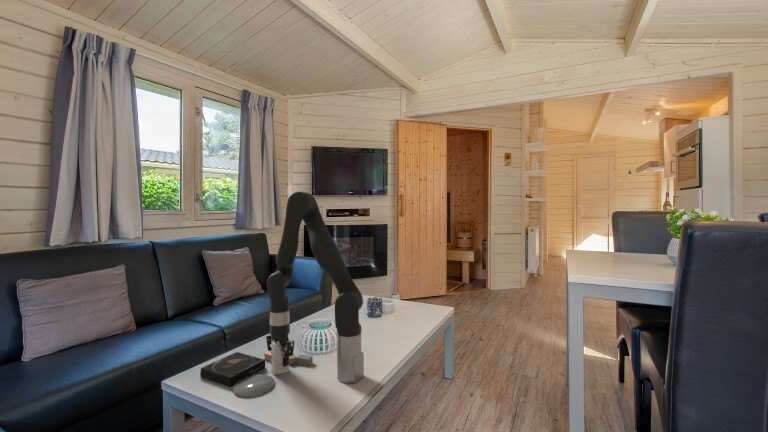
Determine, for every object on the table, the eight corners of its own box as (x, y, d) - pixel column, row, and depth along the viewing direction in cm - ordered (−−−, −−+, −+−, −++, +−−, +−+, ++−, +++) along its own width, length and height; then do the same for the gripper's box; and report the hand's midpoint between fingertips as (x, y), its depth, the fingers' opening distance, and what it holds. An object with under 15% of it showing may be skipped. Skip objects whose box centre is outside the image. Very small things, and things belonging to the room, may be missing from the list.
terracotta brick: (279, 360, 148) (279, 353, 148) (274, 363, 145) (273, 356, 145) (270, 357, 151) (270, 350, 151) (264, 360, 149) (264, 353, 149)
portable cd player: (236, 360, 149) (235, 351, 149) (265, 369, 141) (265, 359, 141) (200, 378, 134) (199, 367, 134) (230, 388, 126) (230, 377, 126)
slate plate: (282, 383, 129) (282, 380, 129) (249, 401, 117) (249, 398, 117) (257, 373, 136) (257, 371, 136) (224, 389, 125) (224, 387, 125)
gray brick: (312, 363, 146) (312, 356, 146) (308, 366, 143) (308, 359, 143) (299, 361, 147) (299, 354, 147) (296, 364, 145) (296, 357, 144)
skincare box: (274, 375, 135) (273, 344, 134) (270, 371, 138) (270, 341, 138) (289, 371, 138) (289, 341, 138) (286, 367, 142) (285, 337, 141)
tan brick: (296, 364, 145) (296, 357, 145) (289, 366, 143) (289, 358, 143) (291, 358, 150) (291, 351, 150) (284, 360, 148) (284, 353, 148)
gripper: (299, 322, 137) (300, 364, 137) (275, 316, 145) (275, 356, 145) (284, 328, 130) (285, 372, 131) (259, 321, 138) (260, 363, 139)
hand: (280, 363), depth 138 cm, fingers closed on skincare box, 5 cm apart
